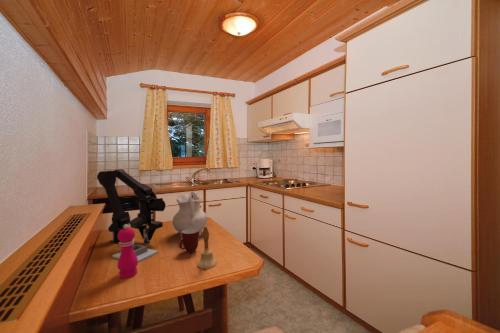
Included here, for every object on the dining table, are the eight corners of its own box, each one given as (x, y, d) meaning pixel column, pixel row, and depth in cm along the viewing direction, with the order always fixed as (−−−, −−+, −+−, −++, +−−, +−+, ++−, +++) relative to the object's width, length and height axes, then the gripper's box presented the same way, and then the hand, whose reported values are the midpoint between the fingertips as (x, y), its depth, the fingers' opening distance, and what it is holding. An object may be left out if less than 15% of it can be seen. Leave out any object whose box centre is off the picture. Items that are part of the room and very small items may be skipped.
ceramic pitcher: (214, 239, 132) (215, 194, 132) (179, 244, 121) (181, 196, 121) (199, 229, 150) (200, 190, 149) (167, 233, 139) (169, 191, 138)
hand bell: (207, 270, 95) (206, 231, 94) (193, 265, 99) (191, 228, 98) (220, 262, 102) (219, 225, 101) (206, 258, 106) (205, 223, 105)
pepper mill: (123, 270, 96) (120, 222, 95) (141, 269, 97) (139, 221, 96) (114, 279, 89) (111, 227, 88) (134, 278, 90) (131, 226, 88)
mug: (188, 258, 106) (187, 236, 105) (174, 255, 110) (174, 234, 109) (203, 249, 115) (202, 229, 115) (190, 246, 119) (189, 227, 119)
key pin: (142, 243, 125) (141, 228, 125) (147, 241, 128) (146, 226, 127) (146, 244, 124) (145, 229, 123) (151, 242, 126) (151, 227, 126)
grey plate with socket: (112, 257, 109) (112, 249, 109) (135, 247, 119) (135, 240, 119) (135, 264, 102) (135, 256, 101) (158, 253, 112) (157, 246, 112)
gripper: (119, 212, 122) (121, 242, 123) (144, 216, 113) (146, 248, 114) (138, 207, 132) (139, 235, 133) (162, 210, 123) (164, 240, 124)
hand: (146, 239), depth 126 cm, fingers open, 4 cm apart
